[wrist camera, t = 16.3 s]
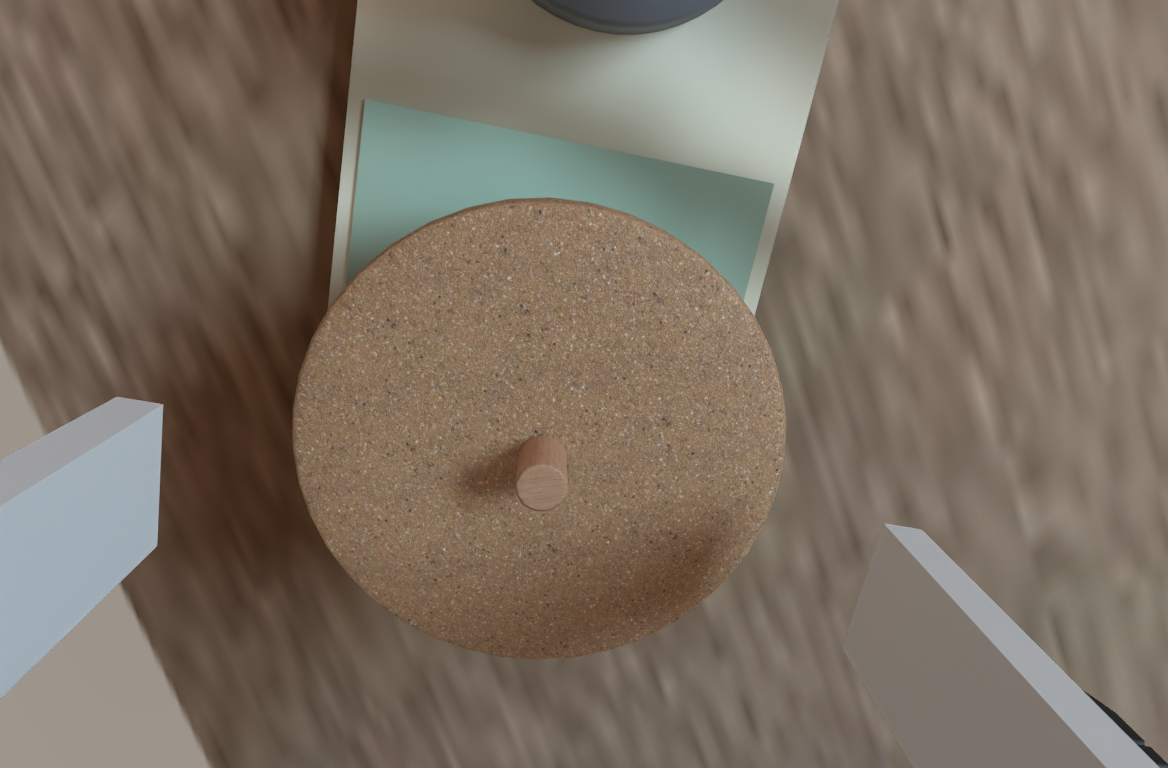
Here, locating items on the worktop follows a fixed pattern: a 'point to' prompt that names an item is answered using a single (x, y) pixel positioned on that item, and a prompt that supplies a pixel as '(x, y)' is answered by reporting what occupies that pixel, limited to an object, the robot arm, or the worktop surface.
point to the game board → (580, 117)
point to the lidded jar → (539, 428)
